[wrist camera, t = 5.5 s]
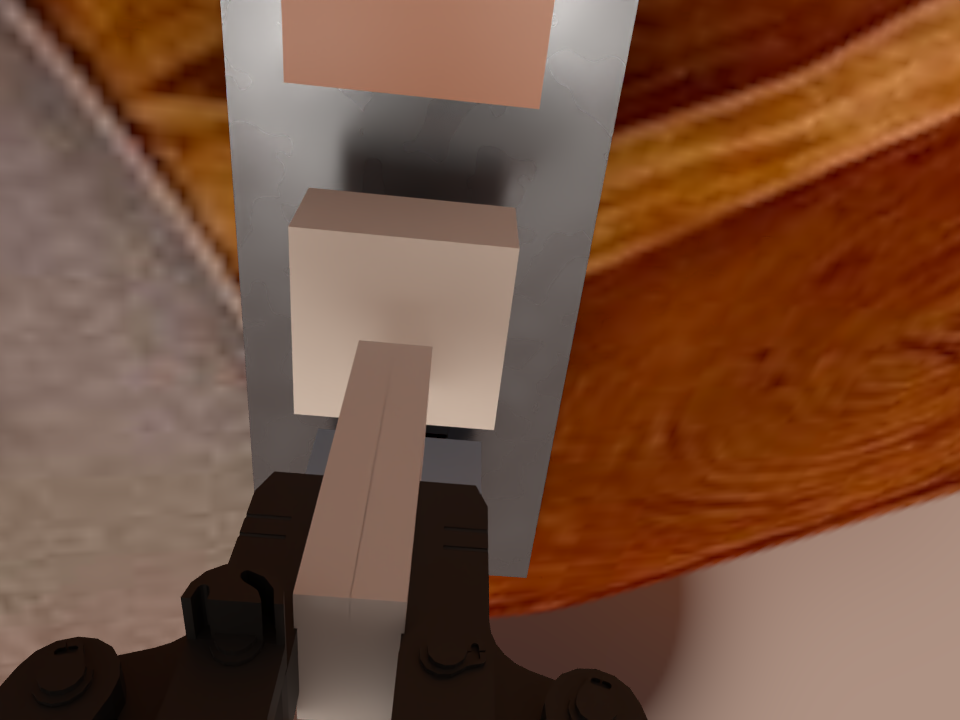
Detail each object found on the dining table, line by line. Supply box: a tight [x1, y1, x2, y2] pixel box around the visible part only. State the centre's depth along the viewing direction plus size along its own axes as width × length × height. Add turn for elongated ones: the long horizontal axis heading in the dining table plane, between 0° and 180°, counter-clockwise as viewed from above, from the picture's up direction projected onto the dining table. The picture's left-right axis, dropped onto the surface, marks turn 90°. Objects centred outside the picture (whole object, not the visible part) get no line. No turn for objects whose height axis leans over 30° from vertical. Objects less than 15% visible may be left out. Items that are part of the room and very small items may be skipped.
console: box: [220, 0, 639, 578], centre depth 23 cm, size 26×10×2 cm, turn 174°
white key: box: [288, 188, 520, 430], centre depth 20 cm, size 5×5×5 cm
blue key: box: [305, 429, 482, 495], centre depth 25 cm, size 5×5×5 cm
